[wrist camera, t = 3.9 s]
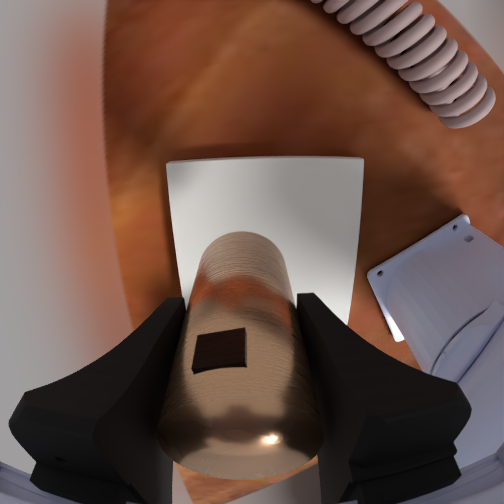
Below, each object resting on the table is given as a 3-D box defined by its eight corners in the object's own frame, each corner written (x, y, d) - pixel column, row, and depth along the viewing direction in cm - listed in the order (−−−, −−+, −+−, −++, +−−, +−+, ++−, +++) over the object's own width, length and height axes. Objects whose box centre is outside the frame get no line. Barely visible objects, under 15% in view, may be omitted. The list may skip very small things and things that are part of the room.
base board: (169, 161, 19) (166, 163, 18) (358, 157, 19) (364, 159, 18) (202, 388, 27) (201, 396, 27) (332, 383, 27) (334, 391, 26)
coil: (228, -62, 10) (474, 146, 15) (281, -106, 8) (512, 98, 13) (237, -35, 14) (440, 132, 19) (280, -74, 12) (474, 92, 17)
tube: (291, 299, 15) (327, 468, 7) (212, 314, 16) (190, 482, 8) (277, 220, 14) (318, 380, 6) (187, 239, 14) (125, 402, 6)
